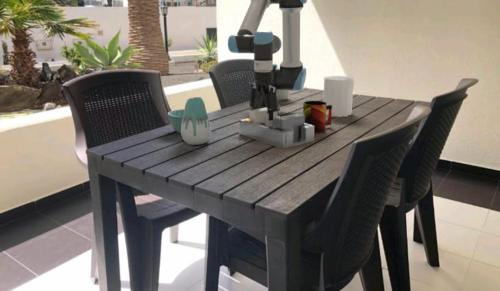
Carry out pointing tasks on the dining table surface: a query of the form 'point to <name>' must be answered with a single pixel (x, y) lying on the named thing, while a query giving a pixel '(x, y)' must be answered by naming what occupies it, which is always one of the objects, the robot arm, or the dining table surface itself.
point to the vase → (195, 122)
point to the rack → (280, 131)
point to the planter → (283, 94)
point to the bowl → (176, 119)
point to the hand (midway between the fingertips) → (262, 125)
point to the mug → (317, 115)
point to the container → (339, 95)
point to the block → (260, 115)
